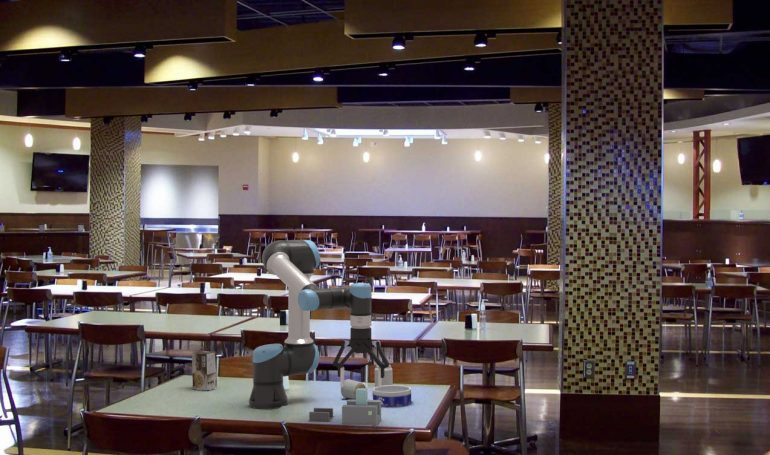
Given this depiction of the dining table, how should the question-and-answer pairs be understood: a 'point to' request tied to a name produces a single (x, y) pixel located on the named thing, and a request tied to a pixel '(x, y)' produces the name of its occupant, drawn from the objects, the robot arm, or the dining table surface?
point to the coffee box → (204, 370)
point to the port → (362, 413)
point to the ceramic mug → (351, 388)
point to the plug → (361, 396)
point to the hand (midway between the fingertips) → (361, 386)
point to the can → (387, 378)
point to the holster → (321, 415)
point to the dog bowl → (393, 395)
